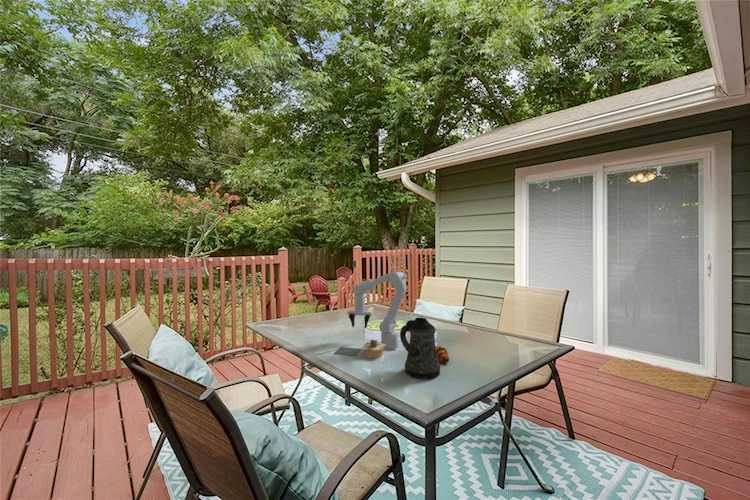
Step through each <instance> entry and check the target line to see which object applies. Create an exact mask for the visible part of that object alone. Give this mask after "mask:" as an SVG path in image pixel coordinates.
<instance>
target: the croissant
mask: <svg viewBox="0 0 750 500" xmlns="http://www.w3.org/2000/svg"><path fill="white" fill-rule="evenodd" d="M435 346H436V352H437V357H438V361H439V363H447V362H450V357H449V354H448V353H449V352H448V350H447V349H446V348H445V347H444V346H442V345H435Z"/></svg>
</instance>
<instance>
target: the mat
mask: <svg viewBox="0 0 750 500" xmlns="http://www.w3.org/2000/svg"><path fill="white" fill-rule="evenodd" d="M361 352H362V350H361V348H356V347H345V346H340V347H339V348H337V350H336V351H334V352H333V353H332V355H333V356H334V355H336V356H345V357H355V358H356V357H357V356H358V355H359V354H360V353H361Z"/></svg>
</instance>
